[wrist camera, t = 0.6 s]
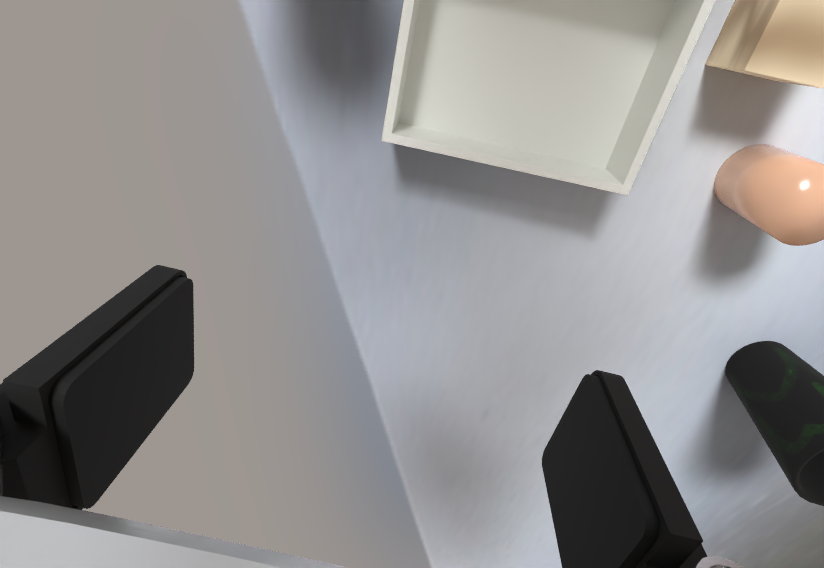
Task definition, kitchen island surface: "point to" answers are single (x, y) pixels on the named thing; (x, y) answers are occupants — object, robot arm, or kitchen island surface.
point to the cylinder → (775, 192)
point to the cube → (773, 41)
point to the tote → (541, 82)
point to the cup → (784, 410)
